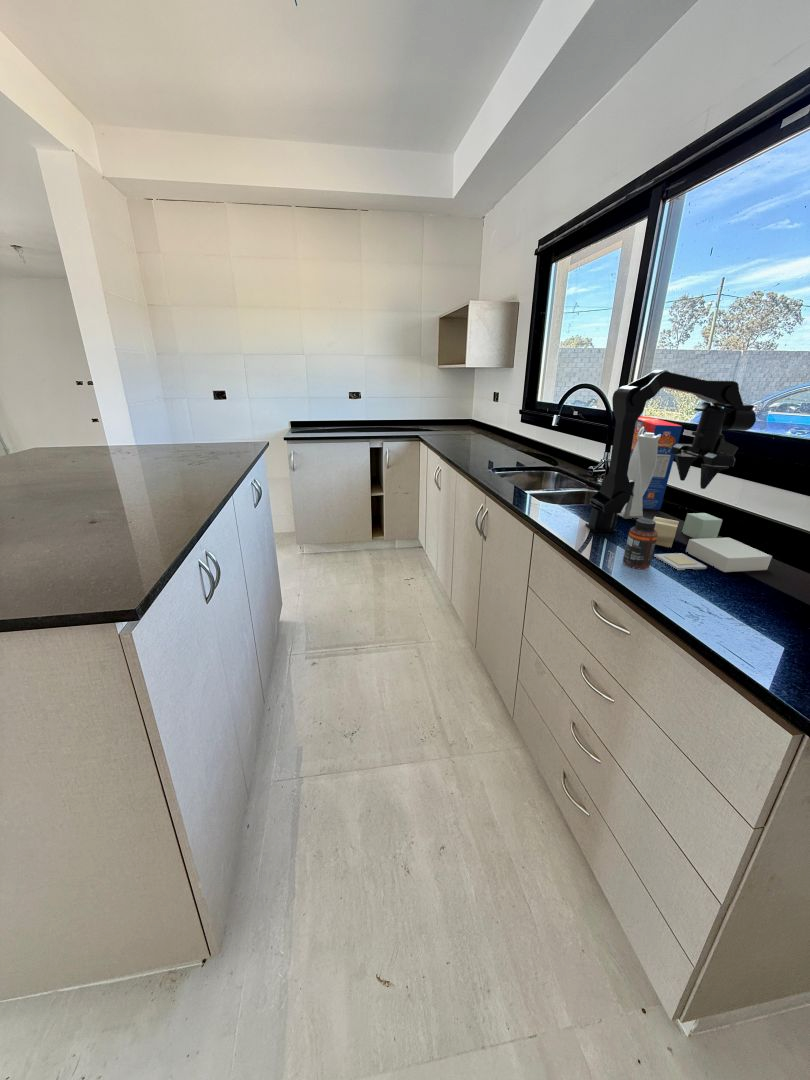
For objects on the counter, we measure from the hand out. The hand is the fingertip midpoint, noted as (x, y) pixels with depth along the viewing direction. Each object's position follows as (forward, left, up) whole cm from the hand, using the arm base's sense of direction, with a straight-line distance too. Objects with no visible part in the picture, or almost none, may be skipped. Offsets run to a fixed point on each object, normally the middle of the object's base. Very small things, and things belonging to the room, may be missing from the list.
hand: (692, 484), depth 124 cm
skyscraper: (-7, +14, -14) cm, 21 cm away
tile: (-19, -22, -14) cm, 32 cm away
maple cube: (-14, -9, -14) cm, 21 cm away
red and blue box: (+8, +32, -14) cm, 36 cm away
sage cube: (+1, -6, -14) cm, 15 cm away
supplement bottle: (-31, -22, -14) cm, 40 cm away
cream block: (-6, -22, -14) cm, 27 cm away
